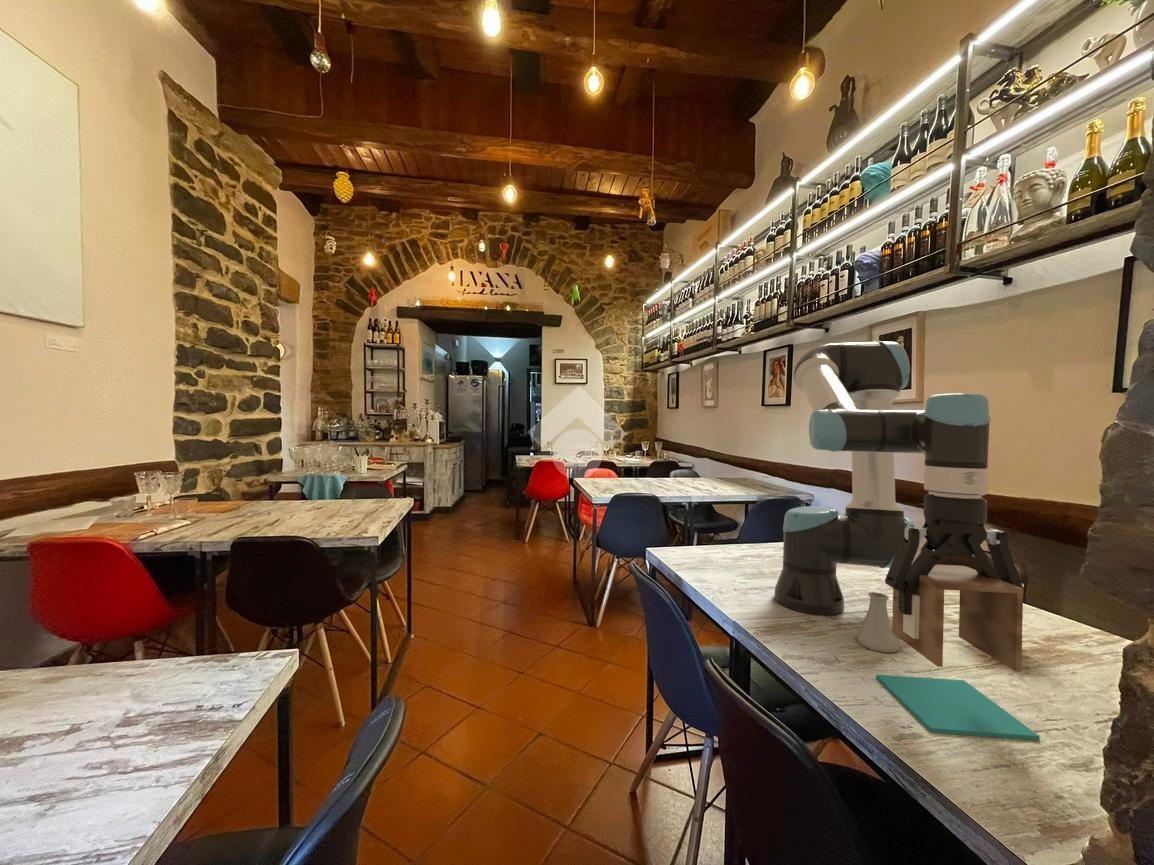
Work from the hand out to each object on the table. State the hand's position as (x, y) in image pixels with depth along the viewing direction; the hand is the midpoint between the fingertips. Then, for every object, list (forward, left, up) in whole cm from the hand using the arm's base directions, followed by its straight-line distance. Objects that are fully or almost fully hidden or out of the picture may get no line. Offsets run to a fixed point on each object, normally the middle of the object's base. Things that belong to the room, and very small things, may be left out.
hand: (951, 637), depth 70 cm
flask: (-20, 0, -11) cm, 23 cm away
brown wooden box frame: (0, 0, -2) cm, 2 cm away
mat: (0, 0, -11) cm, 11 cm away
